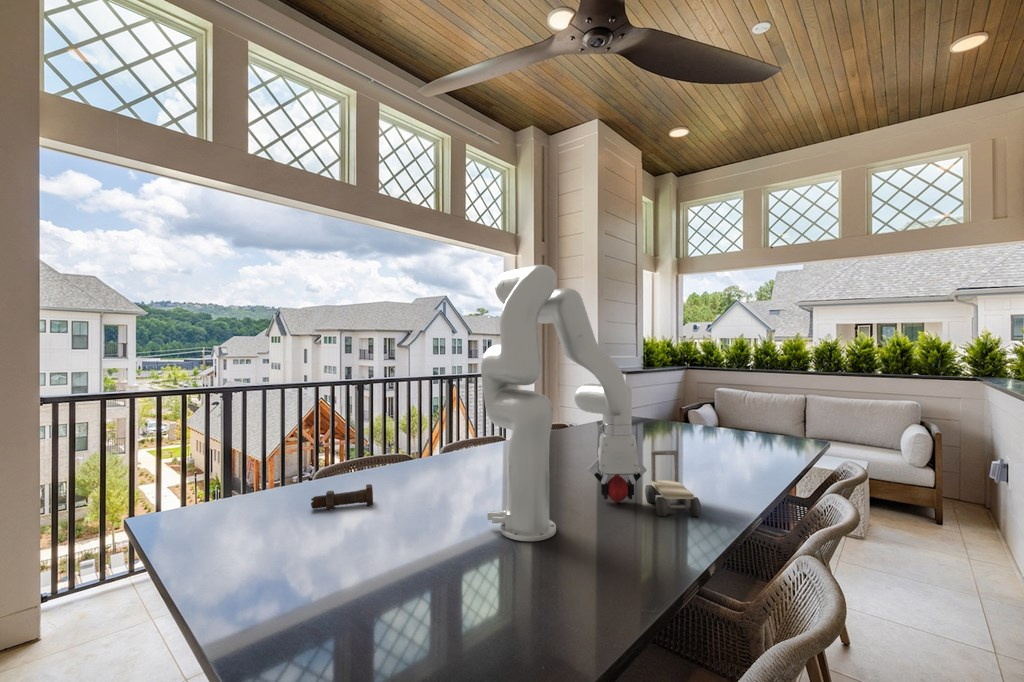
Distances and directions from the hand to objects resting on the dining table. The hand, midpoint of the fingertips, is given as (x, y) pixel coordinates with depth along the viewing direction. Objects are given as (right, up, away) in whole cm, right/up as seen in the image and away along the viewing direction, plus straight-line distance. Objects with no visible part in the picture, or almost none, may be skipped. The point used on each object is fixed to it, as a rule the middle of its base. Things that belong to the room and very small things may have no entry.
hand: (617, 497), depth 125 cm
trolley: (+13, -2, -4) cm, 14 cm away
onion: (0, -2, 0) cm, 2 cm away
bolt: (-72, -2, -2) cm, 72 cm away
